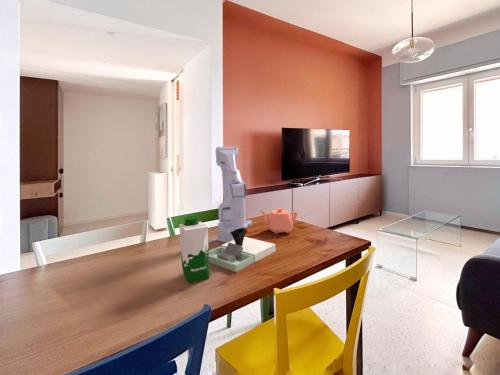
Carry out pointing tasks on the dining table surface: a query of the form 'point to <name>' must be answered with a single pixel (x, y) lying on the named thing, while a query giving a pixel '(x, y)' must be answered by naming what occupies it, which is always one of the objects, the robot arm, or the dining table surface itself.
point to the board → (255, 248)
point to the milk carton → (194, 249)
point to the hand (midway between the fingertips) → (239, 246)
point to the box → (236, 266)
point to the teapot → (280, 220)
